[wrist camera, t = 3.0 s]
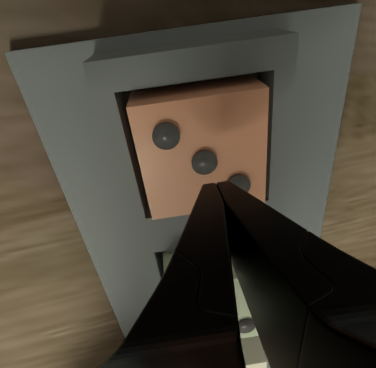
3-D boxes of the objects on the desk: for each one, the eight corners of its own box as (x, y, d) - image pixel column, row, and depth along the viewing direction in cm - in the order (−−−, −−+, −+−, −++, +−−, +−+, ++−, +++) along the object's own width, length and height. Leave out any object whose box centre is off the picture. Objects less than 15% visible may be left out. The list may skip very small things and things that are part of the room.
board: (298, 340, 25) (311, 371, 23) (139, 365, 25) (137, 398, 22) (354, 2, 12) (399, 1, 9) (9, 50, 11) (-24, 60, 9)
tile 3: (250, 176, 14) (266, 205, 12) (153, 191, 14) (152, 222, 12) (250, 74, 12) (271, 88, 10) (131, 90, 12) (125, 109, 10)
